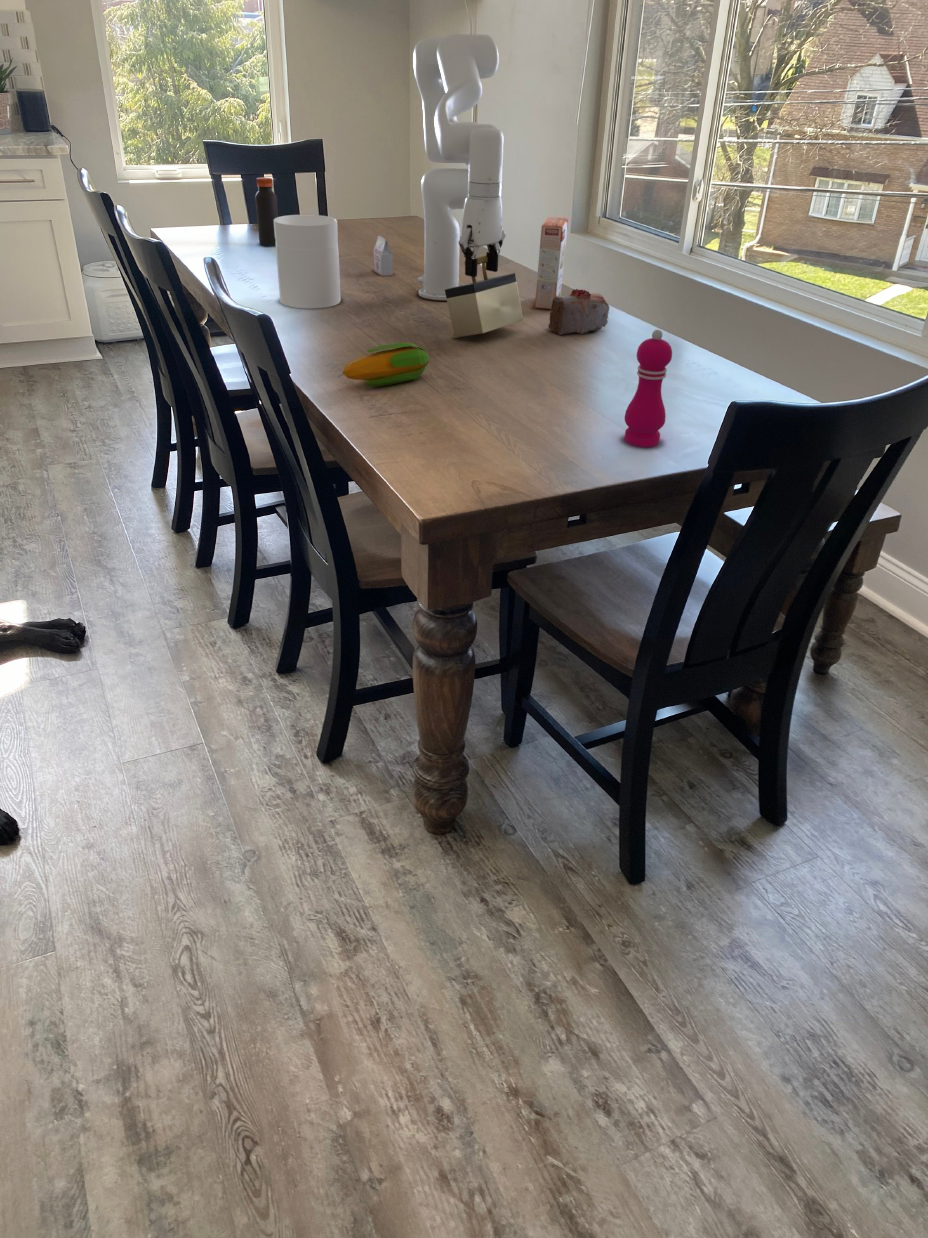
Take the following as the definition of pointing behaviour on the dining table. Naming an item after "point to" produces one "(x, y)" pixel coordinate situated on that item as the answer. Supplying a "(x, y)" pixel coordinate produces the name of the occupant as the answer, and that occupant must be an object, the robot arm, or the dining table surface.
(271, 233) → the bottle
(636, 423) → the pepper mill
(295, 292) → the canister
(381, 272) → the milk carton
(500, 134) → the robot arm
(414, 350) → the corn
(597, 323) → the food item
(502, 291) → the box
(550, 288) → the cracker box
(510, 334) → the dining table surface
